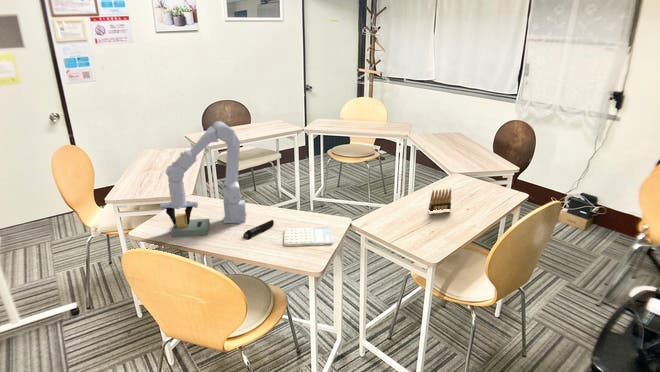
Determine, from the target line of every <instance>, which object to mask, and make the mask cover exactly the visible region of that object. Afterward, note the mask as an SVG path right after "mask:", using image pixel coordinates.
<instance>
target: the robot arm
mask: <svg viewBox="0 0 660 372" xmlns="http://www.w3.org/2000/svg"><path fill="white" fill-rule="evenodd" d="M219 140H220V141H222V142H224V143H225V145H226V165H225V166H226V167H225V180H224V182H223V185H222V188H221V191H220V192H221V194H222V196H223V197H224V198H223V201H222V202H223V210H224V219H223V224H236V223H238V224H239V223H246V222H247V221H246V220H247V210H246V208H247V207H246V201H245V199H242V194H241V192H240V190H241V189H240V184H239V166H240V148H241V147H240V146H241V141H240V139H239V137H238V136H237V134H236V132H235V130H234V129H233V128H232V127H230V126H229V125H227V124H226V123H224V122H223V121H221V120H218V121H215V122H213V123H212V124H211V125H210V126H209V127H208V128H207V129H206V131H205V132H204V134H202V135H201V137H199V139H198V140H197V141H196V143H195V144H194V145H193V146H192V147H191V148H190V149H189V150H184V152H180V153H179V157H178V158H177V159H175V161H173V162H172V163H171V164H170V165H168V166H167V167H166V170H165V175H166V176H167V177H168V178H167V179H168V189H169V196H170V202H163V203H160V205H159V207H160V210H166V211H165V213H166V214H167V216H168V217H169V218H170V220H171V222H172V224H173V225H175V224H176V218H175V217H176V210H180V209H184V212H185V213H186V218H187V224H189V223H190V220H191V214H192V210H193V208H195V209H198V208H199V204H198V203H199V202H198V201H191V200H190V201H189V200H187V198H186V191H185V190H186V189H185V184H184V180H183V179H184V177H185V173H187V171H188V170H190V168H192V166H193V164H195V163H196V162H197V156H198V155H199V154H200V153H201V152H202V151H203V150H204V149H206V148H207V147H208V146H209V145H210V144H211V143H218V142H219Z"/></svg>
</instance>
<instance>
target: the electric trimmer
mask: <svg viewBox="0 0 660 372" xmlns="http://www.w3.org/2000/svg"><path fill="white" fill-rule="evenodd" d="M274 224H275V222H274V219H270V220H268V221H267V222H264V223H262V224H259V225H257V226H255V227H253V228H250V229H248V230H246V231H244V233H243V235H242V236H243V239H246V240H251V238H252V237H254V236H256V235H257V234H258V235H259V234H260V233H262V232H263V233H264V232H265V231H267V230H268V229H270V228H271V227H273V226H274Z"/></svg>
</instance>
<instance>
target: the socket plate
mask: <svg viewBox="0 0 660 372" xmlns="http://www.w3.org/2000/svg"><path fill="white" fill-rule="evenodd" d="M210 224H211V223H210V218H195V219H190V223H189V224H187V225H188V227H187V228H177V225H176V224H175V225H174V224H173V225H172V228H171V230H170V234H171V235H170V236H171V238H173V237H176V238H177V237H188V236H189V237H191V236H192V237H193V236H205V235H208V232H209V229H210Z"/></svg>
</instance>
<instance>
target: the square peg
mask: <svg viewBox="0 0 660 372" xmlns="http://www.w3.org/2000/svg"><path fill="white" fill-rule="evenodd" d="M175 218H176V225H177V228H187V227H188V225H187V218H186V213H176V214H175Z"/></svg>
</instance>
